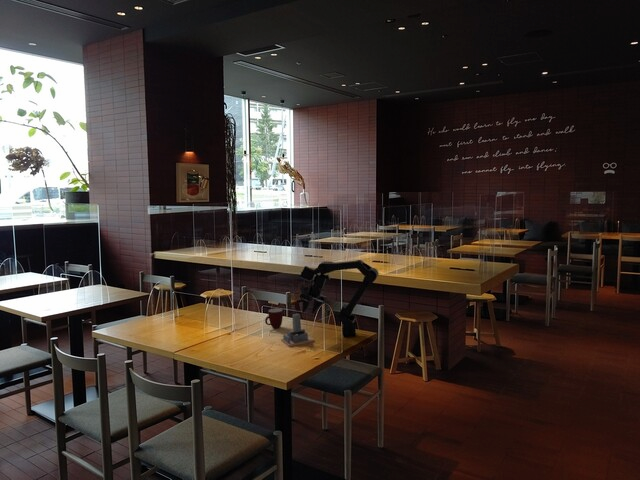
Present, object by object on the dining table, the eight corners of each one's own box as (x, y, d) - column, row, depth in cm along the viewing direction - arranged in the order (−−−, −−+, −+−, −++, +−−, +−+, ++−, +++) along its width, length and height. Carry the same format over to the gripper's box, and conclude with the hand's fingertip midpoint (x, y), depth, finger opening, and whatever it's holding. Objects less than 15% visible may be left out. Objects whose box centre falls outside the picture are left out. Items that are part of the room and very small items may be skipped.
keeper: (305, 335, 253) (305, 328, 252) (314, 341, 244) (314, 333, 243) (281, 341, 247) (280, 333, 246) (289, 346, 238) (288, 339, 237)
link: (301, 335, 250) (300, 311, 249) (308, 340, 243) (306, 315, 242) (287, 338, 247) (285, 314, 245) (293, 343, 240) (292, 317, 238)
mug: (271, 332, 261) (270, 314, 260) (262, 329, 267) (261, 311, 266) (286, 327, 268) (285, 310, 267) (277, 324, 274) (276, 307, 273)
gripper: (315, 280, 263) (306, 307, 264) (296, 277, 248) (286, 306, 248) (331, 288, 257) (322, 315, 258) (313, 285, 242) (302, 314, 242)
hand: (308, 312), depth 252 cm, fingers open, 9 cm apart
